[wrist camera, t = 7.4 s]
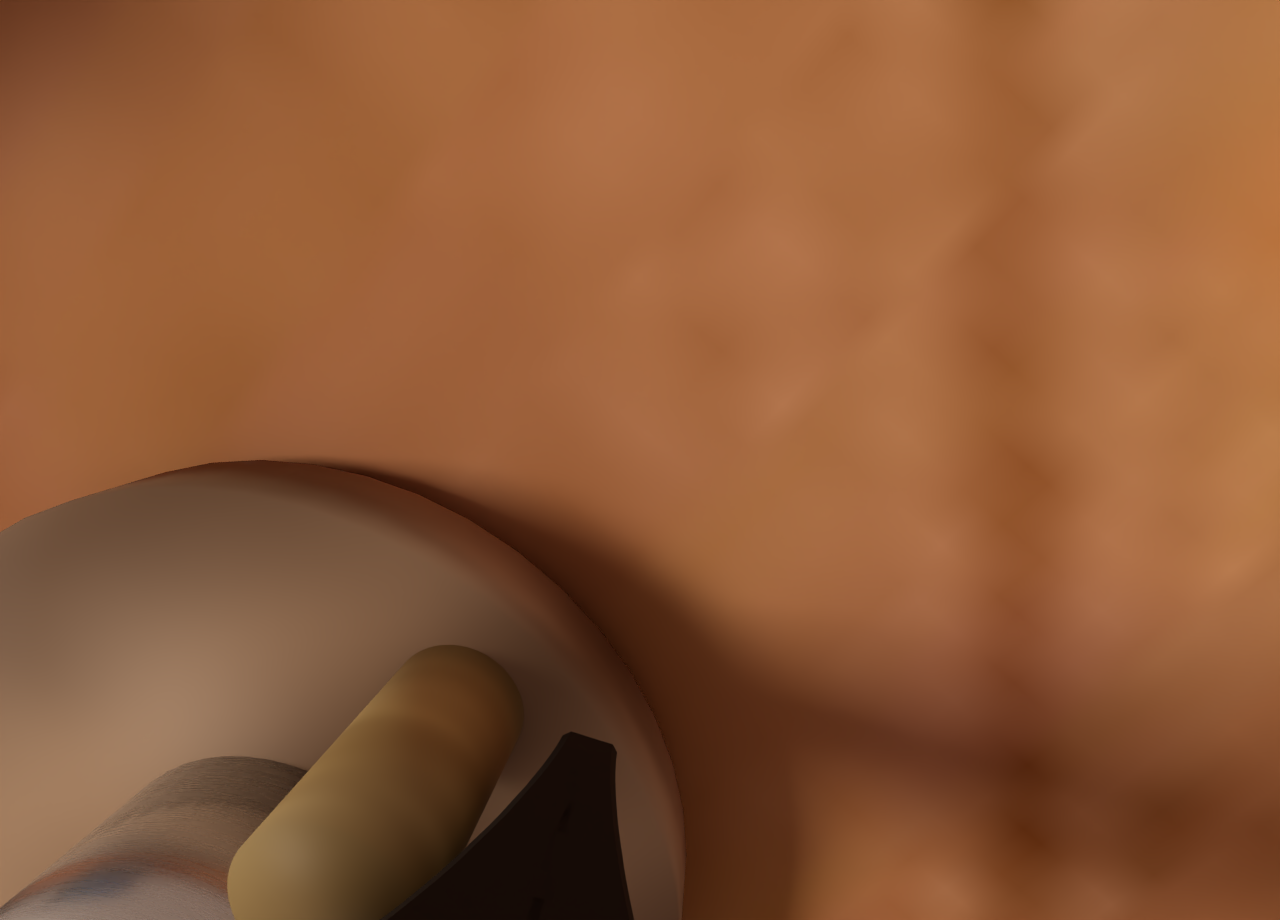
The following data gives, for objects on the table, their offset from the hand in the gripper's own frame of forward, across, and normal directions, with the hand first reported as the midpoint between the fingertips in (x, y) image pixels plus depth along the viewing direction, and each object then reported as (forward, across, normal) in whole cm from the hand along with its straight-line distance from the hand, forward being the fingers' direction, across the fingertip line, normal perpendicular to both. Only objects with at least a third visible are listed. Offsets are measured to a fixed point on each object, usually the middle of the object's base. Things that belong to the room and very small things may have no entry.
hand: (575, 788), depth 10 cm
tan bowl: (+4, +6, +6) cm, 9 cm away
